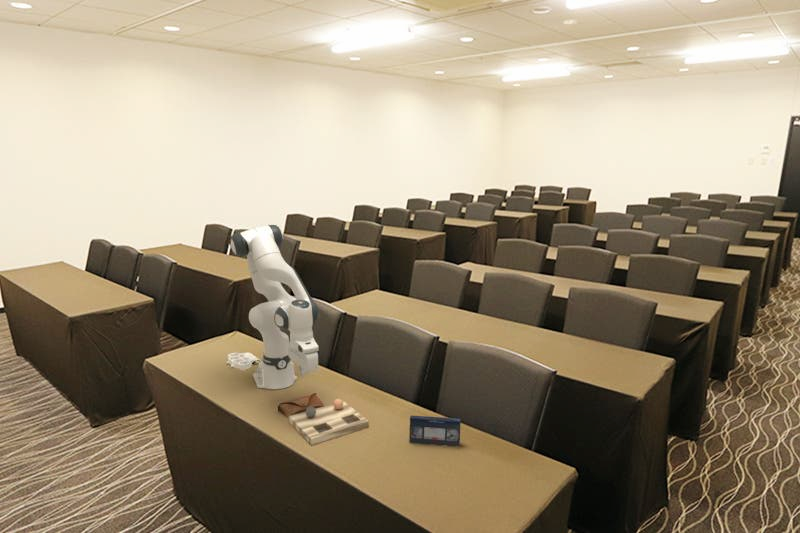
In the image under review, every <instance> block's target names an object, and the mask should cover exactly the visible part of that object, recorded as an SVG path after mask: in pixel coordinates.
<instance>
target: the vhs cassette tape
mask: <svg viewBox="0 0 800 533" xmlns="http://www.w3.org/2000/svg"><path fill="white" fill-rule="evenodd" d="M461 423H462V422H461V418H455V417H441V416H439V417H438V416H427V415H426V416H425V415H410V417H409V438H408V442H409V443H410V444H417V443H419V444H420V445H430V444H436V445H435V446H442V445H447V446H446V447H455V446H459V447H461V446H460V444H461V442H460V441H461Z"/></svg>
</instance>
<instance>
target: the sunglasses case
mask: <svg viewBox="0 0 800 533" xmlns="http://www.w3.org/2000/svg"><path fill="white" fill-rule="evenodd" d="M323 406H326V405H325V404H323V403H322V401H321V400H320V398H319V397H318V395H317V393H316V392H315V393H312V394H309V395H305V396H302V397H298V398H295V399H292V400H289V401H285V402H281V403H279V404H278V405H277V412H279V413H280V414H281V415H283V416H284V417H286V418H287V419H289V416H291V415H295V414H298V413H302V412H305V411H306V409H307V408H308V407H314V408H315V409H316V408H319V407H323Z"/></svg>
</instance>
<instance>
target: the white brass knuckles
mask: <svg viewBox="0 0 800 533" xmlns="http://www.w3.org/2000/svg"><path fill="white" fill-rule="evenodd" d="M256 360H257V361H259V362H260V363H261V362H262V360H261V359H259V357H257V356H256V355H254V354H253V353H251V352H243V353H239V352H231V353H228V354H227V361H226V362H225V364H228V363H229V364H231V366H230V365H229V364H228V365H229V366H230V367H231V368H232V367H237V368H239V369H248V368H250V367H252V366H251V365H252V363H255V362H254V361H256ZM239 369H238V370H239ZM250 369H251V368H250ZM248 370H249V369H248Z"/></svg>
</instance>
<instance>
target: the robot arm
mask: <svg viewBox="0 0 800 533" xmlns="http://www.w3.org/2000/svg"><path fill="white" fill-rule="evenodd" d="M283 243H284V235H283V232H282V230H281V229H280V227H279V226H278V225H276V224H268V225H263V226H257V227H253V228H250V229H247V230H244V231H241V232H236V233H234V234H232V236H231V238H230V248H231V250H232V252H233V254H234V255H235V256H236V257H238V258H246V260H247V266H248V270H249V274H250V279H251V281H252V284H253V287H254V290H255V291H256V292H257V293H258V294H260V295H263V296H264V297H265V298H266V300H267V301H265V302H262V303H259V304H257V305H255V306H254V307H251V309H250V310H249V313H248V321H249V322H250V325H251V326H252V327H253V328H255V330H256V329H257V330H258V331H259V333H260V335H261V337H262V341H263V352H262V353H263V355H262V360H261V363H259V364H258V365H257V368H255V372H254V373H253V375H252V377H253V380H254V382H255V385H256V387H257V388H258V389H267V390H280V389H285V388H289V387H290V386H292V385H293V384H294V383H295V381H297V380H298V376H297V375H295V367H294V363H295V364H297V369H298V374H299V376H301V377H306V376H307V373H314V372H317V370H318V368H319V354H318V352H319V350H320V349H319V345H318V343H317V342H316V340H315V338H314V331H313V326H314V325H315V324H316V323H317V322H318V320H319V318H320V315H321V311H320V308H319V306H318V304H317V303H316V301H315V300H314V299H313V297H312V296H311V295H310V293H309V291H308V289H307V287H306V286H305V284H304V282H303V281H302V278H301V277H300V275H299V274H298V272H297V271H296V269H295V268H294V267H292V266H290V265H289V264H288V263H287V262H286V261H285V259H284V258H283V256H282V254H281V251H280V249H279V248H281V246H282V244H283ZM282 284H285V285H286V286H288V287H289V288H290V289H291V291H292V292H293V294H294V295H293V296H292V295H291V294H289V293H288V292H287V290H285V287H283V285H282ZM294 296H295V297H294ZM284 331H289V333H290V334H289V335H288V334H287V333H286V332H284ZM292 361H293V362H292Z"/></svg>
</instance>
